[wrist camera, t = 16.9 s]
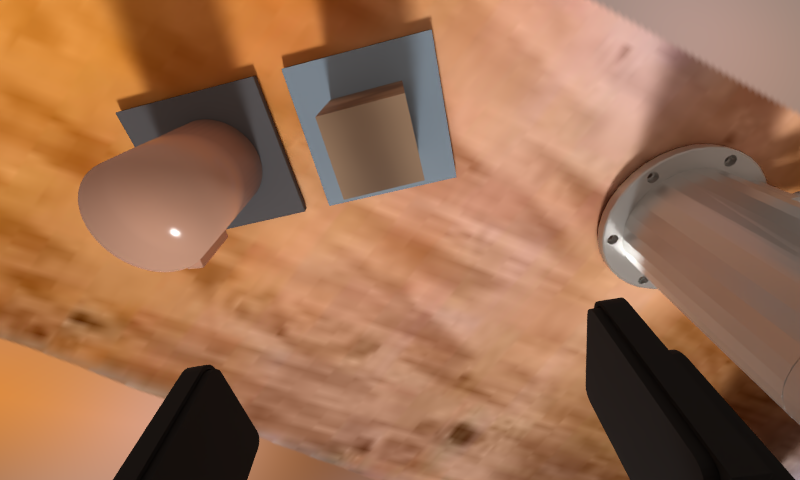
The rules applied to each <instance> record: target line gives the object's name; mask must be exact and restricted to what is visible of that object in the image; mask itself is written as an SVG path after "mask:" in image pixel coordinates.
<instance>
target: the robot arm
mask: <svg viewBox="0 0 800 480" xmlns="http://www.w3.org/2000/svg"><path fill="white" fill-rule="evenodd" d="M598 246H599V251H600V254H601V256H602V258H603V261H604V262H605V263H606V265H607V266H608V267H609V268H610V270H611V271H612V272H613V273H614V274H616V275H617V276H618V277H619V278H620V279H622V280H623V281H625V282H627V283H629V284H631V285H634V286H637V287H641V288H649V289H658V290H659V291H661V292H662V293H663V294H664V295H665V296H666V297H667V298H668V299H669V300H670V301H671V302H672V303H673V304H674V305H675V306H676V307H677V308H678V309H679V310H680V311H681V312H682V313H683V314H684V315H685V316H686V317H687V318H689V319H690V320H691V321H692V322H693V323H694V324H695V325H696V326H697V327H698V328H699V329H700V330H701V331H702V332H703V333H704V334H705V335H706V336H707V337H708V338H709V339H710V340H711V341H712V342H713V343H714V344H715V345H717V346H718V347H719V348H720V349H721V350H722V351H723V352H724V353H725V354H726V355H727V356H728V357H729V358H730V359H731V360H732V361H733V362H734V363H735V364H736V365H737V366H738V367H739V368H740V369H741V370H742V371H743V372H745V373H746V374H747V375H748V376H749V377H750V378H751V379H752V380H753V381H754V382H755V383H756V384H757V385H758V386H759V387H760V388H761V389H762V390H763V391H764V392H765V393H766V394H767V395H768V396H769V397H770V398H771V399H773V400H774V401H775V402H776V403H777V404H778V405H779V406H780V407H781V408H782V409H783V410H784V411H785V412H786V413H787V414H788V415H789V416H790V417H791V418H793V419H794V420H795V421H796V422H797V423H798V424H799V425H800V191H798V192H795V193H793V194H790V193H788V192H786V191H783V190H781V189H778V188H776V187H773V186H771V185H768V184H767V181H766V177H765V175H764V173H763V171H762V169H761V167H760V166H759V165H758V164H757V163H756V162H755V161H754V160H753V159H752V158H751V157H749V156H748V155H746V154H744V153H742V152H741V151H738V150H735V149H732V148H729V147H726V146H721V145H715V144H694V145H689V146H685V147H680V148H677V149H674V150H671V151H669V152H666V153H664V154H661V155H659V156H658V157H656V158H654V159H652V160H651V161H649V162H647V163H645V164H644V165H643V166H641V167H640V168H639V169H637V170H636V171H635V172H634V173H632V174H631V175H630V176H629V177H628V178H627V179H626V180H625V181H624V182H623V183H622V184H621V185H620V186H619V187H618V189H617V190H616V191H615V193H614V194H613V196H612V197H611V198H610V200H609V201H608V203H607V205H606V207H605V210H604V212H603V214H602V217H601V220H600V224H599V227H598ZM586 391H587V395H588V398H589V400H590V403H591V405H592V407H593V408H594V410H595V412H596V414H597V416H598V418H599V420H600V422H601V424H602V426H603V428H604V430H605V432H606V434H607V436H608V438H609V439H610V441H611V443H612V445H613V447H614V449H615V451H616V453H617V455H618V457H619V459H620V461H621V463H622V465H623V467H624V469H625V471H626V472H627V474H628V476H629V478H630V480H795V479H794V478H793V477H792V476H791V474H790V473H789V472H788V471H787V470H786V469H785V468H784V466H783V465H782V464H781V463H780V462H779V461H778V460H777V459H776V457H775V456H774V455H773V454H772V453H771V452H770V451H769V450H768V448H767V447H766V446H765V445H764V444H763V443H762V442H761V441H760V439H759V438H758V437H757V436H756V435H755V434H754V433H753V432H752V430H751V429H750V428H749V427H748V426H747V425H746V424H745V422H744V421H743V420H742V419H741V418H740V417H739V416H738V415H737V413H736V412H735V411H734V410H733V409H732V408H731V407H730V406H729V404H728V403H727V402H726V401H725V400H724V399H723V398H722V397H721V395H720V394H719V393H718V392H717V391H716V390H715V389H714V388H713V386H712V385H711V384H710V383H709V382H708V381H707V380H706V378H705V377H704V376H703V375H702V374H701V373H700V372H699V371H698V369H697V368H696V367H695V366H694V365H693V364H692V363H691V362H690V360H689V359H688V358H687V357H686V356H685V355H683V354H682V353H681V352H679V351H677V350H668V349H667V348H666V346H665V345H664V344H663V343H662V342H661V341H660V339H659V338H658V337H657V336H656V335H655V334H654V332H653V331H652V330H651V329H650V328H649V326H648V325H647V324H646V323H645V322H644V321H643V319H642V318H641V317H640V316H639V315H638V314H637V312H636V311H635V310H634V309H633V308H632V306H631V305H630V304H629V303H628V302H627V301H626V300H625V299H624V298H616V299H610V300H604V301H598V302H596V303H595V306H594V309H589V310H588V314H587V354H586ZM258 446H259V435H258V432H257V430H256V429H255V427H254V425H253V424H252V422H251V420H250V419H249V417H248V415H247V414H246V412H245V411H244V409H243V407H242V406H241V404H240V402H239V401H238V399H237V397H236V396H235V394H234V393H233V391H232V389H231V388H230V386H229V384H228V383H227V381H226V379H225V378H224V376H223V375H222V373H221V372H220V370H218V369H215V368H214V367H213V366H212V365H203V366H197V367H191V368H187V369H185V370H184V371H183V372H182V374H181V375H180V377H179V378H178V380H177V381H176V383H175V384H174V386H173V388H172V389H171V391H170V392H169V394H168V395H167V397H166V398H165V400H164V402H163V403H162V405H161V406H160V408H159V409H158V411H157V412H156V414H155V415H154V417H153V419H152V420H151V422H150V423H149V425H148V426H147V428H146V429H145V431H144V433H143V434H142V436H141V437H140V439H139V440H138V442H137V443H136V445H135V446H134V448H133V449H132V451H131V453H130V454H129V456H128V457H127V459H126V460H125V462H124V464H123V465H122V466H121V468H120V470H119V471H118V473H117V474H116V476H115V477H114V479H113V480H247V479H248V476H249V473H250V470H251V467H252V464H253V461H254V458H255V455H256V452H257V450H258Z"/></svg>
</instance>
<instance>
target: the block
mask: <svg viewBox="0 0 800 480" xmlns="http://www.w3.org/2000/svg"><path fill="white" fill-rule="evenodd" d="M315 118H316V121H317V124H318V127H319V130H320V132H321V135H322V138H323V141H324V144H325V147H326V150H327V153H328V156H329V158H330V161H331V164H332V167H333V170H334V173H335V176H336V179H337V182H338V184H339V187H340V190H341V193H342V196H343V199H344V200H346V199H350V198H354V197H358V196H362V195H366V194H370V193H374V192H379V191H383V190H387V189H391V188H395V187H399V186H403V185H407V184H412V183H416V182H420V181H424V180H425V179H424V175H423V170H422V166H421V161H420V157H419V152H418V148H417V144H416V139H415V135H414V131H413V126H412V122H411V117H410V113H409V109H408V104H407V100H406V96H405V91H404V87H403V82H402V80H401V81H398V82H394V83H390V84H387V85H383V86H379V87H376V88H372V89H368V90H364V91H361V92H357V93H353V94H350V95H346V96H342V97H339V98H335V99H331V100H330V101H329V102H328V103H327V104H326V105H325V106H324V108H323V109H322V110H321V111H320V112H319V113H318V114H317V115H316V117H315Z"/></svg>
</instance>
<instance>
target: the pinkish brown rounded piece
mask: <svg viewBox="0 0 800 480" xmlns="http://www.w3.org/2000/svg"><path fill="white" fill-rule="evenodd" d="M261 181H262V164H261V160H260V157H259V155H258V153H257V151H256V149H255V147H254V146H253V144H252V143H251V142H250V141H249V140H248V138H247V137H246V136H244V135H243V134H242V133H241V132H240V131H238V130H237V129H235V128H234V127H232V126H230V125H228V124H226V123H223V122H220V121H216V120H210V119H201V120H195V121H192V122H189V123H187V124H185V125H182V126H180V127H178V128H176V129H174V130H172V131H169V132H167V133H165V134H163V135H161V136H159V137H156V138H154V139H152V140H150V141H148V142H146V143H143V144H141V145H139V146H137V147H135V148H133V149H130V150H128V151H126V152H124V153H122V154H120V155H118V156H115V157H113V158H111V159H109V160H107V161H105V162H102V163H100V164H98V165H97V166H95V167H93V168H92V169H91V170H90V171H89V172H88V173H87V174H86V175H85V177H84V178H83V180H82V182H81V184H80V188H79V192H78V205H79V209H80V213H81V216H82V219H83V221H84V223H85V225H86V227H87V228H88V230H89V231H90V233H91V234H92V235H93V237H94V238H95V239H96V240H97V241H98V242H99V243H100V244H101V245H102V246H103V247H104V248H105V249H106V250H107V251H109V252H110V253H111V254H113V255H114V256H116V257H117V258H119V259H121V260H122V261H124V262H126V263H128V264H131V265H133V266H136V267H138V268H141V269H145V270H149V271H156V272H173V271H179V270H182V269H186V268H188V269H194V268H203V267H204V266H205V265H206V264H207V263H208V261H209V260H210V259H211V258H212V256H213V255H214V254H215V253H216V251H217V250H218V249H219V248H220V246H221V245H222V244H223V243H224V241H225V240H226V239H227V237H228V235H227V233H226V228H227V227H228V226H229V225H230V224H231V222H232V221H233V220H234V219H235V218H236V217H237V215H238V214H239V213H240V212H241V211H242V209H243V208H244V207H245V206H246V205H247V203H248V202H249V201H250V200H251V199H252V197H253V196H254V195H255V194H256V192H257V191H258V189H259V187H260V184H261Z"/></svg>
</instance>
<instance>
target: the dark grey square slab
mask: <svg viewBox="0 0 800 480" xmlns="http://www.w3.org/2000/svg"><path fill="white" fill-rule="evenodd" d="M116 115H117V116H118V118H119V120H120V122H121V123H122V125H123V127H124V129H125V130H126V132H127V134H128V136H129V137H130V139H131V141H132V143H133V144H134V146H135V147H137V146H139V145H141V144H143V143H146V142H148V141H150V140H152V139H154V138H156V137H159V136H161V135H163V134H165V133H167V132H169V131H172V130H174V129H176V128H178V127H180V126H182V125H185V124H187V123H189V122H192V121H195V120H201V119H210V120H216V121H220V122H223V123H226V124H228V125H230V126H232V127H234V128H235V129H237V130H238V131H240V132H241V133H242V134H243V135H244V136H246V137H247V138H248V140H249V141H250V142H251V143H252V144H253V146H254V147H255V149H256V151H257V153H258V155H259V157H260V160H261V164H262V181H261V184H260V187H259V189H258V191H257V192H256V194H255V195H254V196H253V197H252V199H251V200H250V201H249V202H248V203H247V205H246V206H245V207H244V208H243V209H242V211H241V212H240V213H239V214H238V215H237V217H236V218H235V219H234V220H233V221H232V222H231V224H230V225H229V226H228V227H227V228H226V229H229V228H234V227H238V226H242V225H247V224H251V223H256V222H260V221H264V220H269V219H273V218H278V217H282V216H287V215H291V214H295V213H300V212H304V211H305V210H306V206H305V203H304V200H303V198H302V195H301V193H300V190H299V187H298V185H297V182H296V180H295V177H294V174H293V172H292V169H291V166H290V164H289V161H288V159H287V156H286V153H285V151H284V148H283V146H282V143H281V140H280V138H279V135H278V133H277V130H276V127H275V125H274V122H273V120H272V117H271V114H270V112H269V109H268V106H267V104H266V101H265V99H264V96H263V93H262V91H261V88H260V86H259V83H258V80H257V78H256V76H253V77H249V78H245V79H241V80H237V81H234V82H230V83H226V84H222V85H218V86H215V87H211V88H207V89H203V90H199V91H196V92H192V93H188V94H184V95H180V96H177V97H173V98H169V99H165V100H162V101H158V102H154V103H150V104H146V105H143V106H139V107H135V108H131V109H127V110H124V111H120V112H116Z"/></svg>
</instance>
